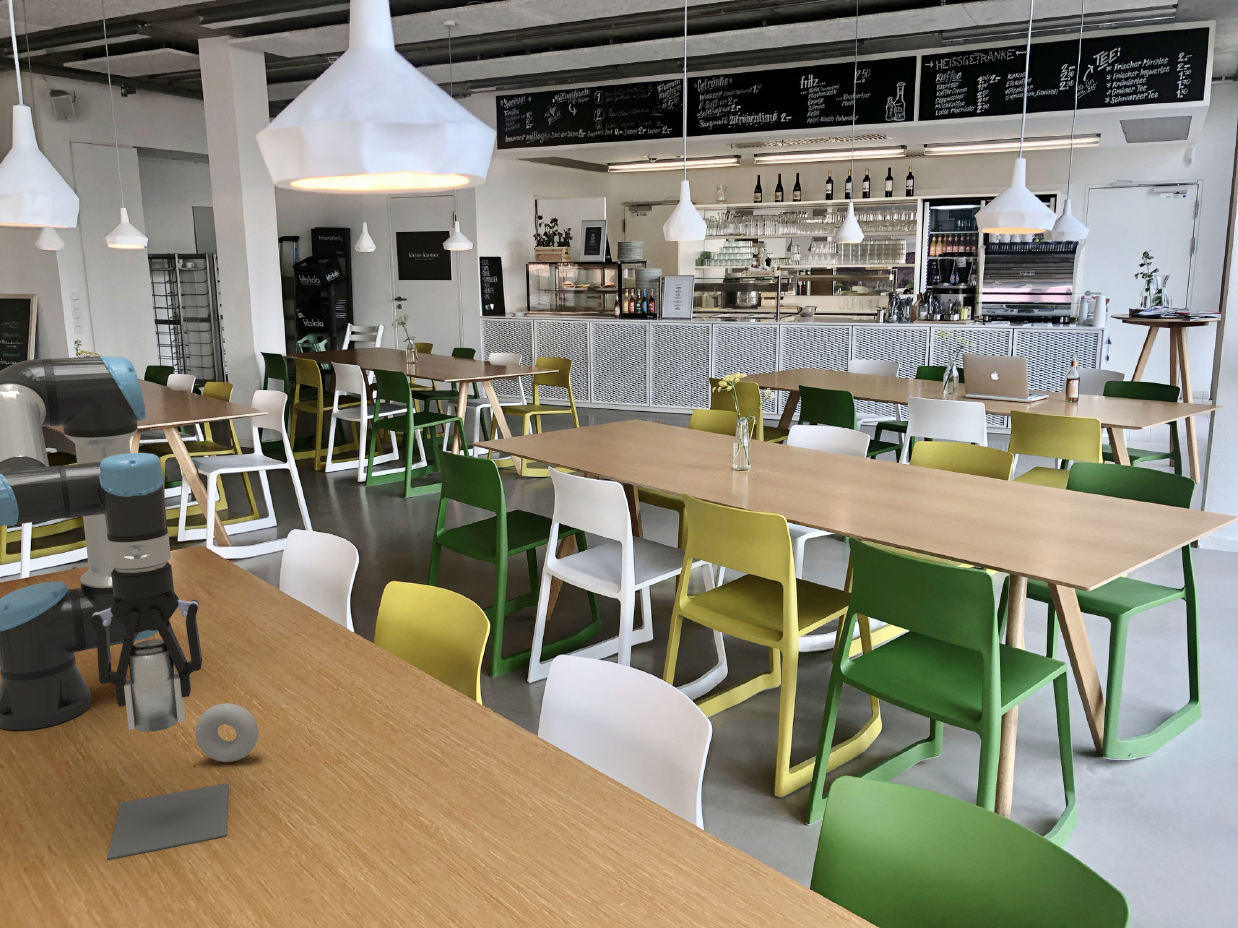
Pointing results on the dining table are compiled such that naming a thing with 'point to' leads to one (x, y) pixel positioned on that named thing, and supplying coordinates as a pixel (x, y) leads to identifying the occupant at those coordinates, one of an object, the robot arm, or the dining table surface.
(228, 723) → the donut
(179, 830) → the mat
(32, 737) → the dining table surface
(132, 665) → the shaker
